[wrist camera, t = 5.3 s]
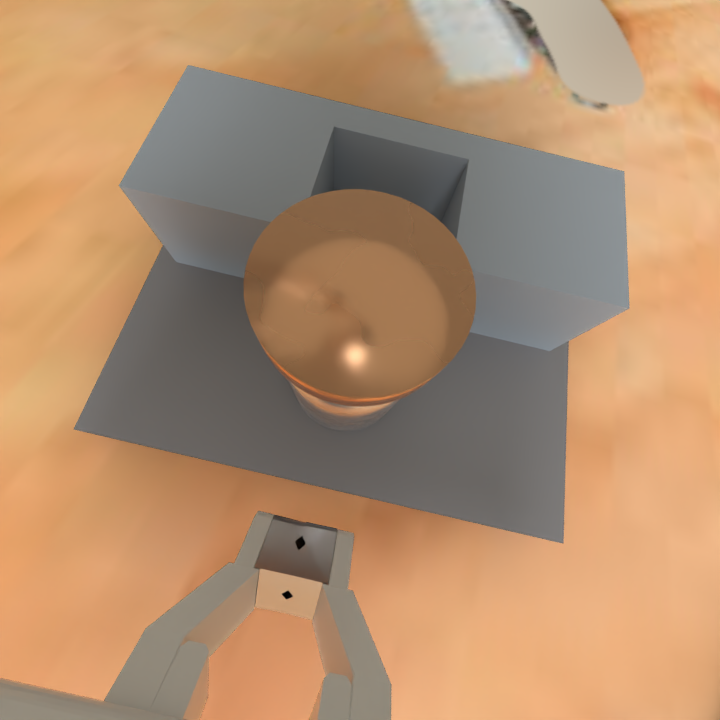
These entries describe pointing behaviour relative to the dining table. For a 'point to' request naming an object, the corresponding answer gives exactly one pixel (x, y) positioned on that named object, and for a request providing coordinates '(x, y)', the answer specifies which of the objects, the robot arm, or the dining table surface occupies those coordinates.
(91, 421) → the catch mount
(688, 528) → the dining table surface
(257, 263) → the lidded glass jar
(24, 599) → the dining table surface
